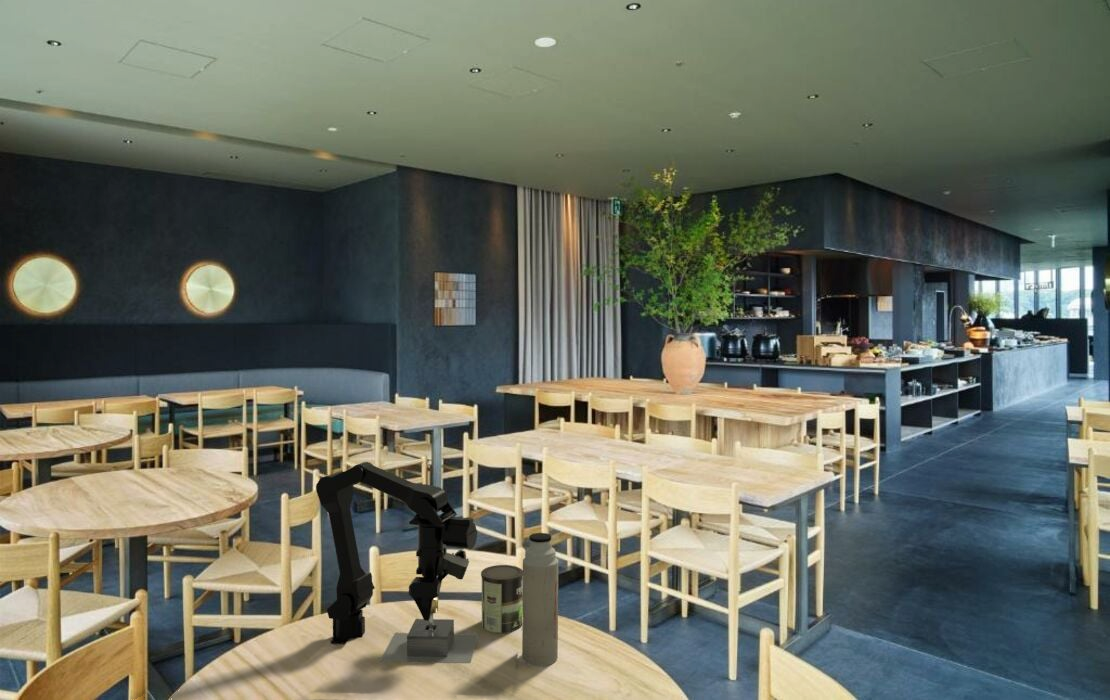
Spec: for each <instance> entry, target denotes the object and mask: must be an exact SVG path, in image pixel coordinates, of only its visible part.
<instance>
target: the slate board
mask: <svg viewBox="0 0 1110 700" xmlns="http://www.w3.org/2000/svg"><path fill="white" fill-rule="evenodd" d="M408 633H409V632H407V633H406V632H394V633H393V636H392V637H391V640H390V641H389V643H388V645H387V647H386V648H385V651H384V652H383V654H382V655H381V658H380V660H379V663H382V662H384V663H389V662H390V663H432V664H433V663H434V664H435V663H438V664H439V663H442V664H471V663H472V658H473V655H474V652H475V649H476V644H477V641H478V638H479V634H478V633H477V634H475V633H454V640H453V643H452V645H451V648H450V651H449V654H448V657H414V656H407V635H408Z"/></svg>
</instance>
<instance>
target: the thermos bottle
mask: <svg viewBox="0 0 1110 700" xmlns="http://www.w3.org/2000/svg"><path fill="white" fill-rule="evenodd" d="M524 556H525V557H524V558H523V559H522V570H523V583H522V585H523V589H522V625H523V628H521V629H522V630H521V632H522V635H521V636H522V637H521V638H522V640H521V641H522V642H521V643H522V644H521V645H522V647H521V649H522V652H521V656H522V660H523V662H524V663H525V664H527V665H530V666H535V667H545V666H550V665H553V664H554V663H555V662H557V661H558V658H559V657H558V651H559V650H558V649H559V647H558V645H559V644H558V643H559V642H558V641H559V639H558V638H559V559H558V558H557V557H556V556H557V553H556V549H555V548H554V547H552V535H551V534H550V533H547V532H535V533H531V534H530V535H529V547H527V548H526V550H525V555H524Z"/></svg>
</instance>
